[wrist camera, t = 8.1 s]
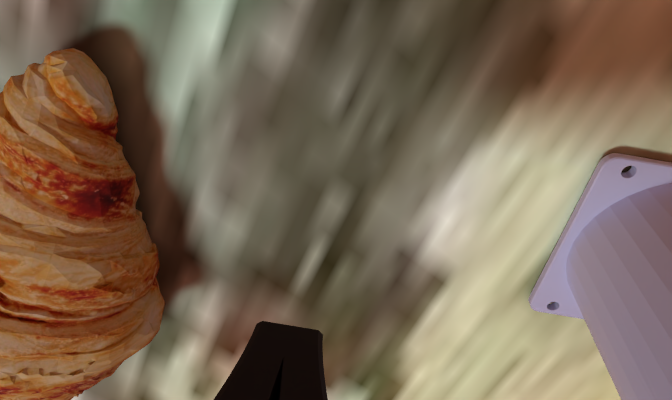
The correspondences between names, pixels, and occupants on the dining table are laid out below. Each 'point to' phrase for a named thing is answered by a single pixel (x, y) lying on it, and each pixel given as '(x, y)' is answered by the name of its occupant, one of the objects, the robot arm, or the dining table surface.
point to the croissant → (69, 235)
